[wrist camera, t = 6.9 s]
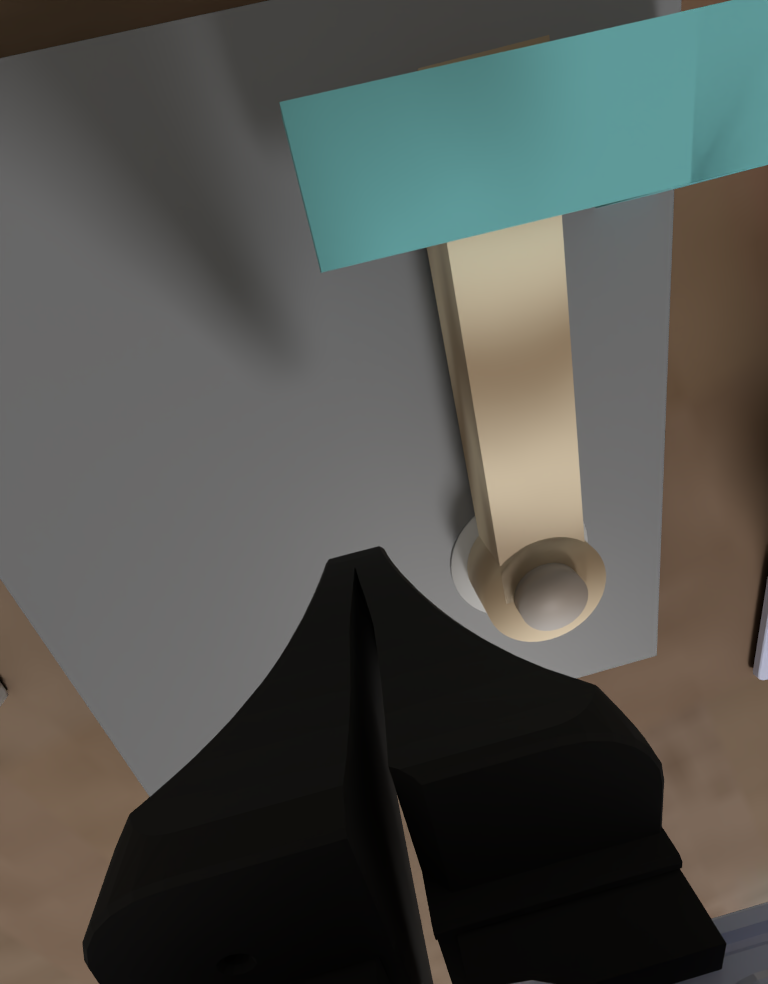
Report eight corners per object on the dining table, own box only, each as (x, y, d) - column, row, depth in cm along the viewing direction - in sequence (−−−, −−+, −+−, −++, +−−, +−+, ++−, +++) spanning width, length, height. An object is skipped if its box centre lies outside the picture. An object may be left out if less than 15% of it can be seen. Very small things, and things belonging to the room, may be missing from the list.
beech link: (578, 587, 20) (617, 632, 17) (476, 617, 20) (501, 667, 17) (535, 68, 12) (594, 12, 10) (374, 110, 12) (391, 64, 10)
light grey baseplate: (658, -63, 13) (687, -93, 12) (642, 640, 23) (658, 656, 22) (-263, 137, 12) (-316, 123, 11) (157, 777, 22) (150, 801, 21)
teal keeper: (638, 81, 14) (792, -14, 9) (637, 198, 15) (773, 163, 11) (289, 161, 13) (279, 101, 9) (317, 275, 15) (321, 271, 10)
